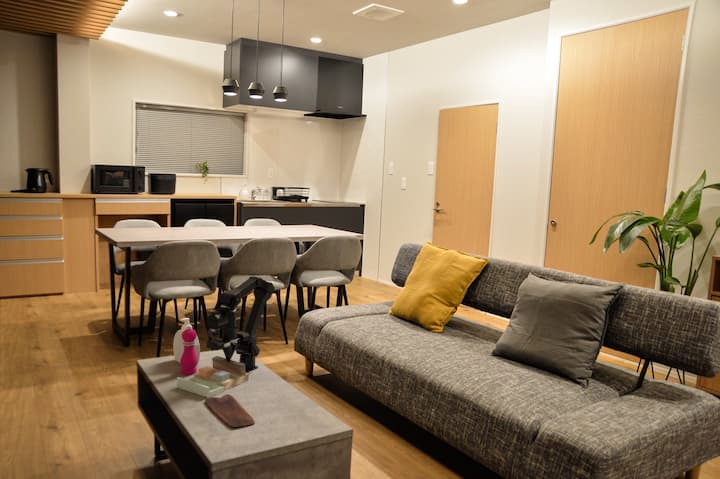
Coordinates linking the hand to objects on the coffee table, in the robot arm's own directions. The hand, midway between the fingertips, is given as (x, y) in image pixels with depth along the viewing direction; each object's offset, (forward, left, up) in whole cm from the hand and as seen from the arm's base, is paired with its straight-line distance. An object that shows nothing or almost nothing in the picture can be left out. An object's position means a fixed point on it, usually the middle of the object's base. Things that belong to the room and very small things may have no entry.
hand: (228, 360), depth 222 cm
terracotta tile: (+8, -4, -5) cm, 10 cm away
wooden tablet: (+18, +26, -7) cm, 32 cm away
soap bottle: (-2, -28, -8) cm, 29 cm away
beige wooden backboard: (+4, 0, -8) cm, 8 cm away
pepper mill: (+5, -18, -8) cm, 20 cm away
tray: (+15, 0, -8) cm, 16 cm away
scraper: (0, 0, -5) cm, 5 cm away
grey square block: (+8, +4, -5) cm, 10 cm away
